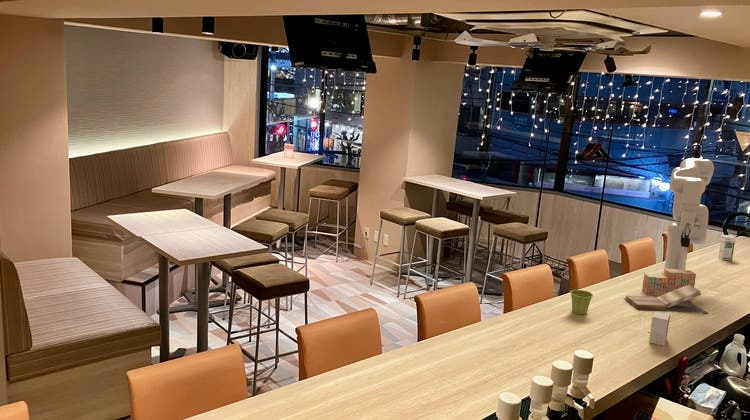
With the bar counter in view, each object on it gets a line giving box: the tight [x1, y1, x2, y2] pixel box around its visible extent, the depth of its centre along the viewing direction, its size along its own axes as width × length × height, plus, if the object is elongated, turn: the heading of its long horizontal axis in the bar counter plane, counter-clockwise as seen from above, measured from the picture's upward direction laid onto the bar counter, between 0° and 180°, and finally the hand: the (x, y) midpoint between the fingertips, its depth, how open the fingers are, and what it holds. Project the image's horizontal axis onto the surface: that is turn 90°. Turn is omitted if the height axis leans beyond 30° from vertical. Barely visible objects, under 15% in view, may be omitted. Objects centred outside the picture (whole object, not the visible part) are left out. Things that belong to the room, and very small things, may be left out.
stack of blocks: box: [641, 268, 697, 296], centre depth 284 cm, size 21×6×12 cm, turn 84°
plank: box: [655, 285, 702, 308], centre depth 267 cm, size 16×9×2 cm, turn 92°
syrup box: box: [718, 234, 736, 261], centre depth 355 cm, size 6×6×14 cm
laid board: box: [624, 295, 667, 310], centre depth 267 cm, size 12×13×2 cm
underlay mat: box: [623, 297, 709, 315], centre depth 268 cm, size 16×31×1 cm, turn 91°
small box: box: [648, 311, 671, 347], centre depth 227 cm, size 8×6×10 cm
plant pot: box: [569, 289, 594, 315], centre depth 255 cm, size 9×9×9 cm
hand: (684, 244), depth 265 cm, fingers open, 9 cm apart
